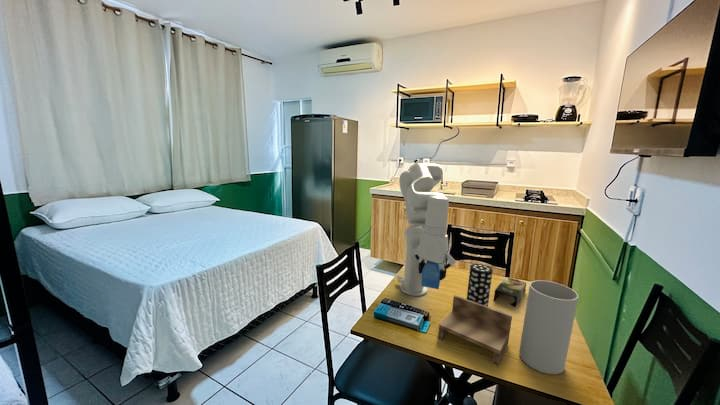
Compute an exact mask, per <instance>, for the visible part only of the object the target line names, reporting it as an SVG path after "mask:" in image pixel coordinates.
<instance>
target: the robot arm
mask: <svg viewBox="0 0 720 405" xmlns="http://www.w3.org/2000/svg"><path fill="white" fill-rule="evenodd" d="M443 175H444V171H443V167H442V166H441V165H440V164H438V163H428V162H427V163H425V162H424V163H423V162H419V163H418V162H417V163H414V164H413V165H411V167H410V169H409V170H406V171H403V172H401V174H399V187H400V188H399V189H400V192H401V194H402V197H403V199H404V203H405V204H404V206H405V215H406V221H407V222H408V224H409V226H407V228H406V229H405V231H404V233H405V234H404V236H405V261H404V275H403V276H401V275H398V276H397V280H396V281H397V282H399V283H401V284H400V287H399V289H400V292H402V293H404V294H405V295H408V296H412V297H422V296H425V295H426V294H427V293H428V287H424V286H421V280H422V270H423V267H424V265H425V263H426V262H427V261H431V262H434V263H438V264H440V266H441V270H440V277H439V280H440V281H443V280H444V279H446V278H447V270H448V269H449V268H450V267H452V266H453V265H454V264H455V263H456V260H455V259H454V257H453V256H452V255H451V254H450V253H449V236H448V234H447V228H448V227H447V225H448V215H449V208H450V207H449V206H450V203H449V202H450V201H449V198H448V197H447V196H446V194H445V193H442V192H433V191H432V190H433V188H434V187H436V186H437V185H438V184H439V183H440V182H441V181H442V179H443ZM431 191H432V192H431ZM447 261H448V263H447Z"/></svg>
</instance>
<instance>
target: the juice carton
mask: <svg viewBox="0 0 720 405" xmlns="http://www.w3.org/2000/svg"><path fill="white" fill-rule="evenodd" d="M526 288H527V282H525V281H523V280H519V279H517V278H511V277H507V276H506V277H505V278H504V279H503V280H502V281H501V282H500V283H499V284H498V286H497V287H496V288H495V290H494V292H493V293H494V294H493V295H494V296H493V300H495V299H496V298H497V297H498V296H499V294H500V293H502V294H507V295H508V296H511V297H513V298H514V300H513V302H511V303H510V305H511V306H512V307H514V308H516V307H518V305H519V303H520V302H521V301H522V298H523V297H524V294H525V293H526V292H527V291H526V290H527V289H526Z"/></svg>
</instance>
